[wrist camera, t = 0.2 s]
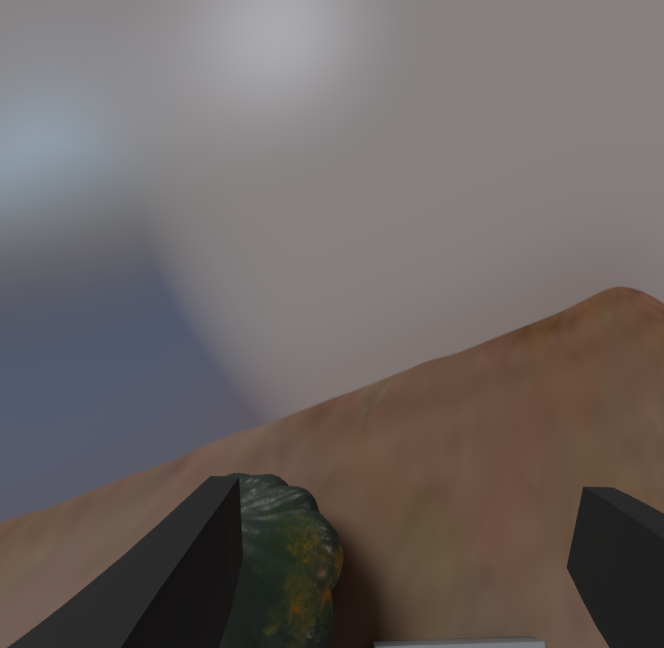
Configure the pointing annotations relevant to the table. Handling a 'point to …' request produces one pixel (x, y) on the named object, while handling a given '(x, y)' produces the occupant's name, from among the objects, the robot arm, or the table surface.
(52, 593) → the table surface
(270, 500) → the squash
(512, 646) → the tray
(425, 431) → the table surface
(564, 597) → the table surface
